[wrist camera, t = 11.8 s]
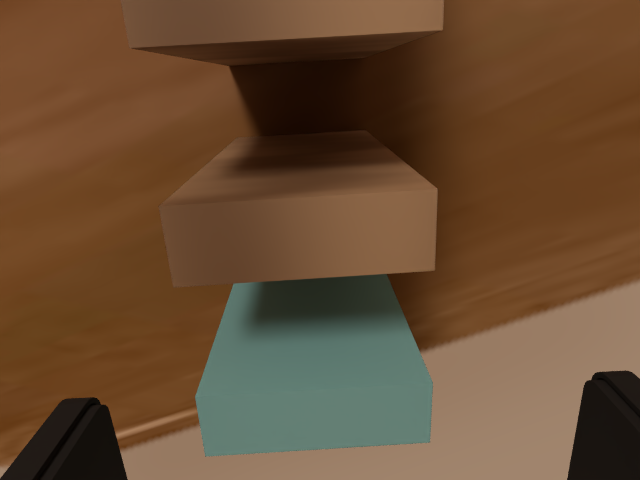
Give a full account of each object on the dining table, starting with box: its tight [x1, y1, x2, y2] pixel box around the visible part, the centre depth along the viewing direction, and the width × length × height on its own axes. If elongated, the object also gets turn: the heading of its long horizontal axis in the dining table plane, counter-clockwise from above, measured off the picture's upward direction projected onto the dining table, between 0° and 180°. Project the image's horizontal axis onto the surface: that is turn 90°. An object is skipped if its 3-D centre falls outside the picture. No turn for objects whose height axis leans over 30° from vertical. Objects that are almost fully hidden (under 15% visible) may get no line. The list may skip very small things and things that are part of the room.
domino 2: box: [159, 130, 438, 287], centre depth 13 cm, size 5×2×10 cm, turn 93°
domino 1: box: [121, 0, 444, 66], centre depth 12 cm, size 5×2×10 cm, turn 93°
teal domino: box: [195, 274, 433, 456], centre depth 14 cm, size 5×2×10 cm, turn 93°
